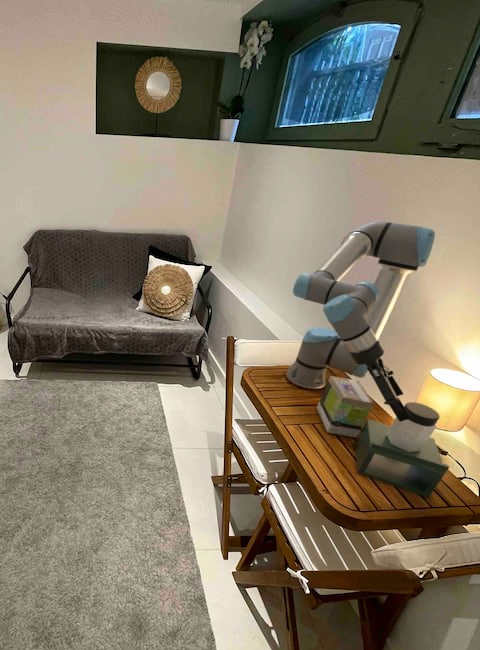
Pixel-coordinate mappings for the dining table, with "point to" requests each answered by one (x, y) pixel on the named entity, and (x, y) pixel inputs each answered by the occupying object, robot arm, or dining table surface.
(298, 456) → the dining table surface
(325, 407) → the tea box
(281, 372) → the dining table surface
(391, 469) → the shelf
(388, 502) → the dining table surface
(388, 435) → the jar
